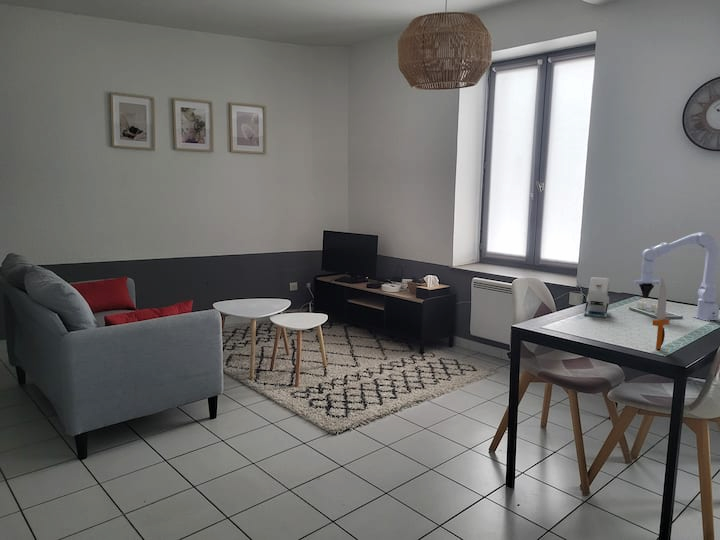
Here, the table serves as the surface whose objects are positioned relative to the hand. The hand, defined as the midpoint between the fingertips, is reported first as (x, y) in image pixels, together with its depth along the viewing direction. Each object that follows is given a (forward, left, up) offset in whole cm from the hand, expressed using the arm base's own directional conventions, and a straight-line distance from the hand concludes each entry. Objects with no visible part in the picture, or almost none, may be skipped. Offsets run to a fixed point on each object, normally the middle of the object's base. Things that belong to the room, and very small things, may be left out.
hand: (645, 297), depth 289 cm
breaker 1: (+7, -3, -7) cm, 11 cm away
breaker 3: (-7, -4, -7) cm, 11 cm away
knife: (-61, +38, -9) cm, 73 cm away
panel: (0, -7, -9) cm, 11 cm away
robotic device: (+4, +24, -9) cm, 26 cm away
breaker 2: (0, -7, -7) cm, 10 cm away
